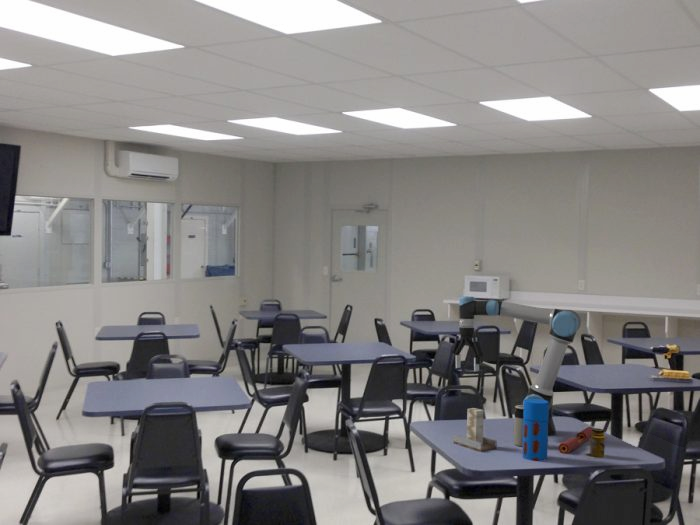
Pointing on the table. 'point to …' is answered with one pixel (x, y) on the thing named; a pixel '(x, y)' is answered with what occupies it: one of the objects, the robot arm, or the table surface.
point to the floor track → (476, 443)
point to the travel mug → (518, 425)
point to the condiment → (597, 444)
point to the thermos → (535, 429)
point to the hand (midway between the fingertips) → (467, 369)
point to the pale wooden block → (475, 424)
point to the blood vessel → (575, 441)
